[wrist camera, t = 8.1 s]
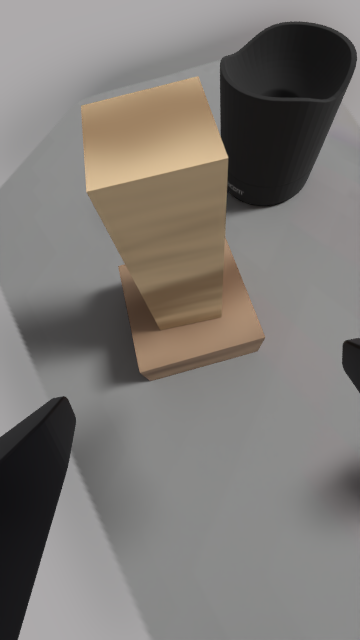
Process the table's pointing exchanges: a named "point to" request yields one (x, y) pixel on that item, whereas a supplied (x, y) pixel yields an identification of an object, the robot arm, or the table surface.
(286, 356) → the table surface
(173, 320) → the oak pillar
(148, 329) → the light brown block
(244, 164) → the pen holder
